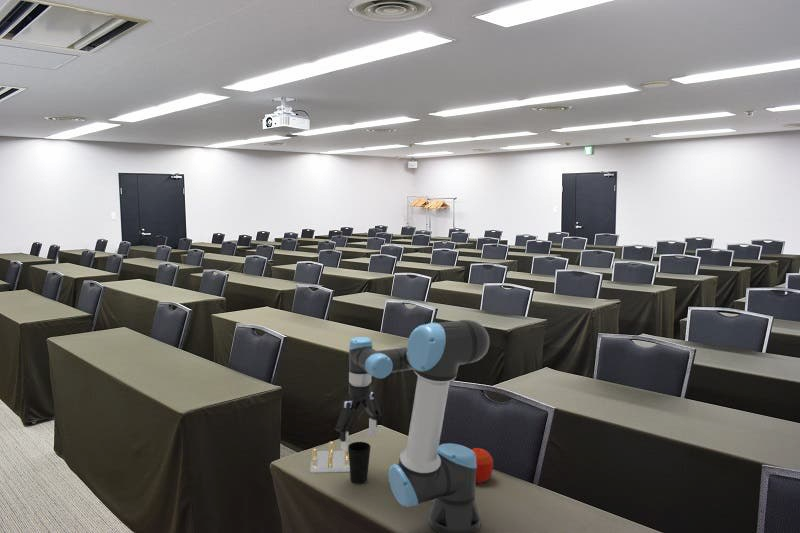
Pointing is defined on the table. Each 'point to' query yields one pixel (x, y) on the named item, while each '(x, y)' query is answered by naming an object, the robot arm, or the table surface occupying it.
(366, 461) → the cup
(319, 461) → the white board with pegs
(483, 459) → the apple
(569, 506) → the table surface
